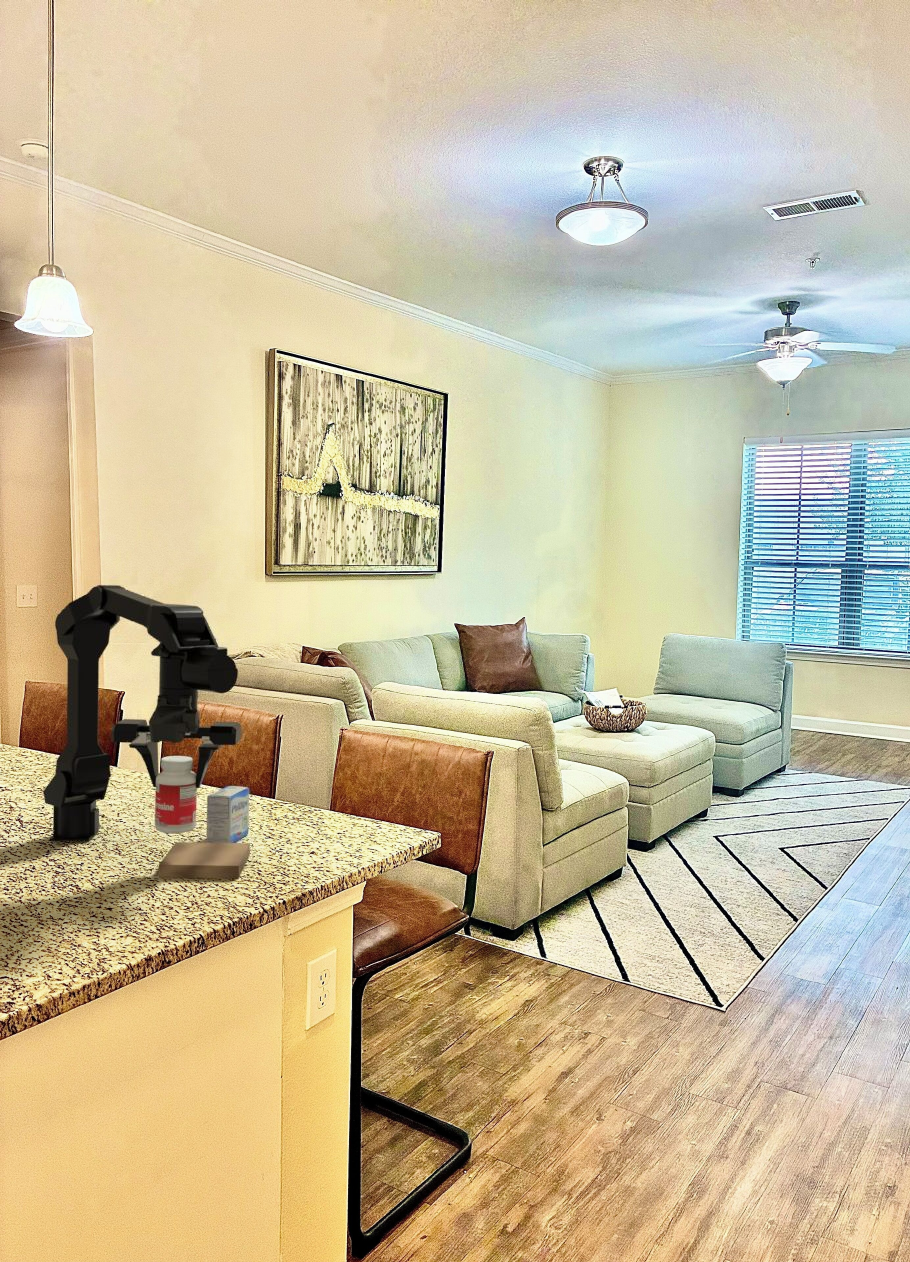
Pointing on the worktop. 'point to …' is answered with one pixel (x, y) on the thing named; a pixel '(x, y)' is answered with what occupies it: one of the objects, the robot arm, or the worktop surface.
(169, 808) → the pill bottle
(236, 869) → the walnut plinth
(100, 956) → the worktop surface
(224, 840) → the medicine box
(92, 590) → the robot arm
